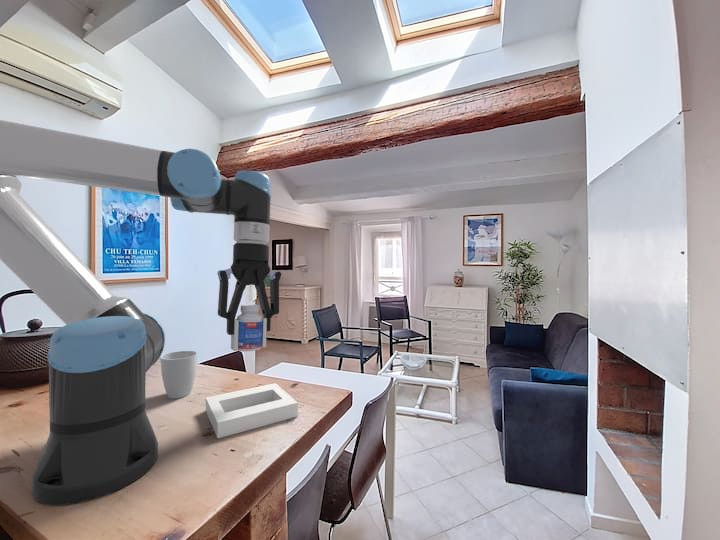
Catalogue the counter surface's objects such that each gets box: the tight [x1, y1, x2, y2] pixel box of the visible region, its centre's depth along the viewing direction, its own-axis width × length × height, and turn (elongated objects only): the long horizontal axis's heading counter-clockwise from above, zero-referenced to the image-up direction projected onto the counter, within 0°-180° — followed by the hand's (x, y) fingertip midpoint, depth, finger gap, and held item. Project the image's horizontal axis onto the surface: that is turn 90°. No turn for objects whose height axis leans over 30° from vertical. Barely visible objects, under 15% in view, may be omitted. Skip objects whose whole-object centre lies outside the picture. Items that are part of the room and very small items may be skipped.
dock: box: [205, 383, 299, 439], centre depth 73 cm, size 16×20×3 cm
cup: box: [159, 350, 198, 399], centre depth 81 cm, size 8×8×10 cm
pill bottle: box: [236, 303, 263, 352], centre depth 71 cm, size 6×5×10 cm
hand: (248, 347), depth 71 cm, fingers closed on pill bottle, 5 cm apart
